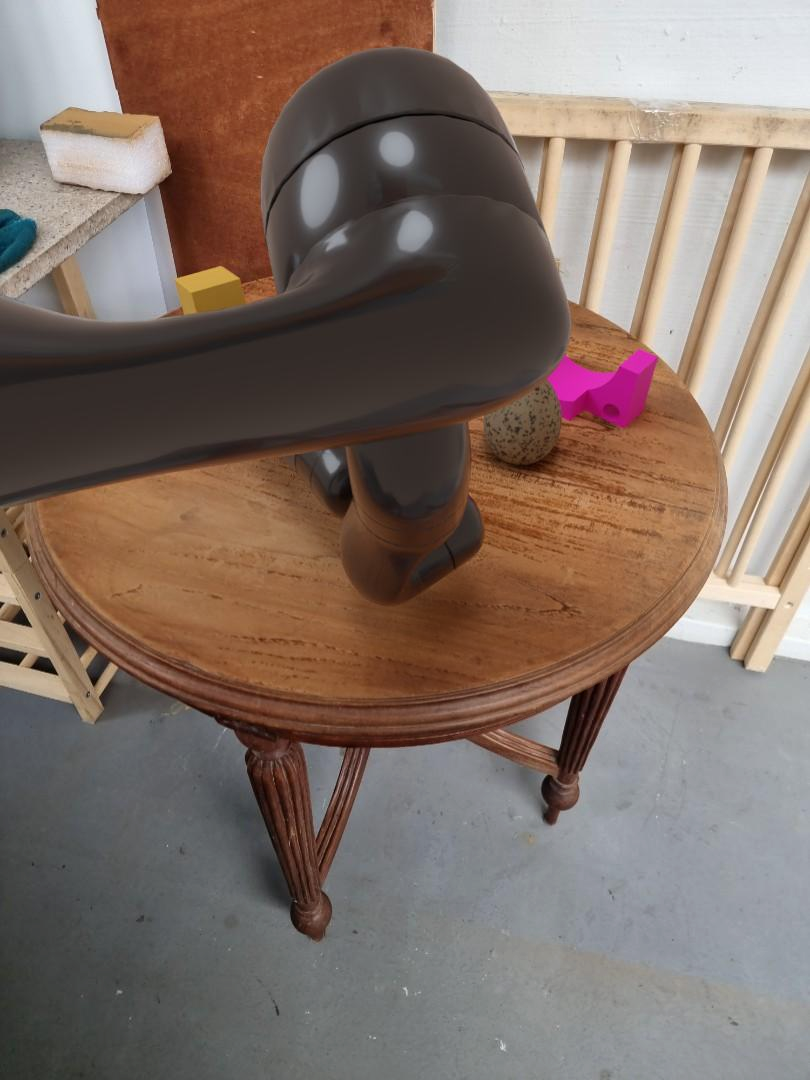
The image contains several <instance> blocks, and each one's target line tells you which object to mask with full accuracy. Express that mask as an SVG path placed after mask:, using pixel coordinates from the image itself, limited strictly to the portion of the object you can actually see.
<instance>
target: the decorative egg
mask: <svg viewBox="0 0 810 1080" xmlns="http://www.w3.org/2000/svg"><path fill="white" fill-rule="evenodd" d="M562 422H563V418H562V413H561V407H560V402H559V399H558V397H557V394H556V392H555V390H554V388H553V387H552V385H551V384H550V382H549V381H548V380H547V379H546V380H545V381H544V382H543V383H542V384H541V385H540V386H538V387H537V388H535V389H534V390H532V391H531V392H529V393H528V394H526V395H525V396H523V397H522V398H520V399H518V400H516V401H515V402H513V403H511V404H509V405H508V406H506V407H503V408H501V409H499V410H497V411H494V412H492V413H490V414H487V415H485V416H483V433H484V439H485V440H486V442H487V445H488V447H489V448H490V450H491V451H492V453H493V454H494V455H495V456H496V457H498V459H500V460H501V461H503V462H505V463H506V464H507V463H508V464H510V465H513V466H529V465H532V464H535V463H538V462H539V461H541V460H543V459H544V458H545V457H546V456H548V454H549V453H551V451H552V450H553V449H554V447H555V445H556V444H557V442H558V439H559V438H560V435H561V430H562V424H563V423H562Z"/></svg>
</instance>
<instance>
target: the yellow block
mask: <svg viewBox="0 0 810 1080" xmlns="http://www.w3.org/2000/svg"><path fill="white" fill-rule="evenodd" d="M174 283H175V287H176V291H177V295H178V298H179V302H180V305H181V309H182V312H183V315H186V314H193V313H200V312H207V311H214V310H220V309H225V308H230V307H234V306H239V305H244V304H247V302H246V298H245V293H244V290H243V286H242V285H243V284H242V281H241V278H240V277H239V276H237V275H236V274H234V273H233V272H232V271H230V270H228V269H227V268H226V267H224V266H222V265H219V266H215V267H213V268H209V269H206V270H201V271H198V272H195V273H191V274H187V275H184V276H180V277H177V278H174Z"/></svg>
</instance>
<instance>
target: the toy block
mask: <svg viewBox="0 0 810 1080" xmlns="http://www.w3.org/2000/svg"><path fill="white" fill-rule="evenodd" d="M658 360H659V356H657V355H656V354H652V353H650V352H648V351H646V350H643V349H641V348H638V349H637V350H636V351H635V352H633V354H631V355H630V356H629V357H627V358H626V359H625V360H624V361H623V362H622V363H621V364H620V365H619V366H618V367H617V370H615V371H612V372H597V371H592V370H589V369H587V368H585V367H582V366H581V365H579V364H577V363H576V362H574V360H572V359H570V357H568V355H566V354H565V356H564V358H563V359H562V361H561V363H560V364H559V365H558V367H557V368H556V369H555V370H554V371H553V373H552V374H551V375H550V376H549V377H548V378H547V380H548V381H549V382H550V384H551V385H552V387H553V388H554V390H555V392H556V394H557V397H558V399H559V402H560V407H561V413H562V419H564V420H566V421H569V422H571V421H572V420H574V418H576V417H577V416H578V415H579V414H580V413H581V412H582V411H586V412H588V413H590V414H592V415H594V416H596V417H598V418H601V419H603V420H605V421H606V422H609V423H611V424H613V425H616V426H617V427H619V428H622V429H626V428H627V427H628V425H629V424H631V423H632V422H633V421H634V420H635V419H636V418H637V417H639V415H641V414H642V413H643V412H644V409H645V405H646V403H647V398H648V395H649V392H650V387H651V385H652V380H653V377H654V374H655V371H656V367H657V363H658Z"/></svg>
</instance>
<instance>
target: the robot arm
mask: <svg viewBox="0 0 810 1080" xmlns="http://www.w3.org/2000/svg"><path fill="white" fill-rule="evenodd" d="M259 189H260V190H259V192H260V193H259V197H260V198H259V200H260V214H261V219H262V220H261V221H262V227H263V233H264V240H265V245H266V250H267V252H268V258H269V263H270V268H271V273H272V277H273V283H274V287H275V292H276V294H275V295H271V296H269V297H265V298H262V299H259V300H255V301H251V302H248V303H247V302H246V304H244V305H239V306H234V307H230V308H225V309H220V310H214V311H207V312H200V313H193V314H186V315H184V314H179V315H172V316H166V317H165V316H164V317H161V318H160V317H159V318H152V319H145V320H144V319H143V320H142V319H141V320H110V319H109V320H108V319H94V318H89V317H88V318H87V317H82V316H77V315H72V314H67V313H62V312H59V311H55V310H51V309H48V308H46V307H45V308H44V307H41V306H37V305H34V304H30V303H28V302H25V301H22V300H19V299H15V298H13V297H10V296H8V295H4V294H1V293H0V510H5V509H9V508H14V507H17V506H22V505H26V504H31V503H36V502H39V501H45V500H48V499H53V498H57V497H60V496H66V495H70V494H74V493H79V492H83V491H88V490H92V489H96V488H103V487H107V486H112V485H116V484H121V483H125V482H131V481H135V480H141V479H147V478H151V477H155V476H156V477H157V476H161V475H166V474H173V473H178V472H185V471H186V472H187V471H193V470H199V469H200V470H201V469H207V468H212V467H218V466H219V467H220V466H226V465H233V464H239V463H246V462H254V461H260V460H267V459H274V458H281V459H282V460H283V461H284V462H285V464H286V465H287V466H288V467H289V468H290V469H292V471H294V472H295V473H296V474H297V475H298V476H299V477H300V478H301V479H302V480H303V481H304V483H305V484H306V486H307V487H308V488H309V490H310V491H311V492H312V494H314V496H315V498H316V499H317V500H318V501H319V502H320V504H321V505H322V506H323V507H324V508H325V509H326V510H327V511H328V512H329V513H330V514H332V515H333V516H335V517H337V518H340V519H343V520H342V522H341V525H340V529H339V535H338V548H339V556H340V561H341V565H342V568H343V570H344V573H345V575H346V577H347V580H349V582H350V584H351V586H352V587H353V588H354V589H355V591H357V592H358V594H359V595H361V596H362V597H363V598H364V599H365V600H367V601H369V602H370V603H372V604H374V605H378V606H380V607H385V608H388V607H389V608H390V607H398V606H402V605H404V604H406V603H408V602H410V601H411V600H414V598H416V597H418V596H419V595H421V594H422V593H424V592H425V591H426V590H428V589H429V588H431V587H433V586H434V585H435V584H437V583H438V582H440V581H441V580H442V579H445V578H446V577H447V576H448V575H450V574H451V573H453V572H454V571H456V570H458V569H459V568H460V567H462V566H463V565H465V564H466V563H468V562H469V561H471V560H472V559H473V558H474V557H475V556H476V555H477V554H478V553H479V552H480V551H481V549H482V547H483V545H484V542H485V539H486V538H485V537H486V528H485V527H486V525H485V520H484V517H483V513H482V512H481V509H480V507H479V505H478V503H477V502H476V501H475V499H474V498H473V497H472V496H471V494H469V489H470V483H471V476H472V474H471V473H472V443H471V442H472V441H471V434H470V427H469V422H471V421H475V420H476V419H479V418H481V417H484V416H485V415H487V414H490V413H492V412H494V411H497V410H499V409H501V408H503V407H506V406H508V405H509V404H511V403H513V402H515V401H516V400H518V399H520V398H522V397H523V396H525V395H526V394H528V393H529V392H531V391H532V390H534V389H535V388H537V387H538V386H540V385H541V384H542V383H543V382H544V381H545V380H546V379H547V378H548V377H549V376H550V375H551V374H552V373H553V371H554V370H555V369H556V368H557V367H558V365H559V364H560V363H561V361H562V359H563V358H564V356H565V355H566V354H567V350H568V348H569V345H570V342H571V335H572V315H571V309H570V305H569V300H568V297H567V292H566V289H565V286H564V284H563V281H562V277H561V274H560V271H559V268H558V264H557V261H556V259H555V256H554V255H555V254H554V253H553V249H552V246H551V243H550V238H549V237H548V233H547V231H546V228H545V224H544V222H543V219H542V216H541V214H540V211H539V208H538V204H537V202H536V200H535V199H536V198H535V195H534V193H533V191H532V188H531V184H530V181H529V179H528V176H527V173H526V172H525V166H524V164H523V162H522V159H521V155H520V152H519V150H518V147H517V144H516V142H515V139H514V137H513V135H512V133H511V131H510V129H509V127H508V126H507V124H506V121H505V119H504V118H503V116H502V115H501V112H500V110H499V109H498V107H497V105H496V104H495V102H494V100H493V99H492V97H491V96H490V94H489V93H488V92H487V91H486V90H485V88H484V87H482V85H481V83H479V82H478V80H477V79H476V78H475V77H474V76H473V74H471V73H469V72H468V71H466V69H464V68H462V67H461V66H460V65H458V64H456V63H455V62H454V61H453V60H451V59H450V58H448V57H446V56H442V55H440V54H437V53H435V52H432V51H430V50H427V49H424V48H423V49H422V48H415V47H410V46H409V47H408V46H401V45H398V46H387V47H386V46H385V47H384V46H383V47H373V48H368V49H364V50H360V51H357V52H354V53H351V54H348V55H346V56H344V57H342V58H339V59H338V60H336V61H334V62H332V63H330V64H327V65H326V66H324V67H322V68H321V69H319V70H318V71H317V72H316V73H315V74H313V75H312V76H310V78H308V79H307V80H306V81H304V82H303V83H302V84H301V85H300V86H299V87H298V89H296V91H295V92H294V93H293V94H292V96H291V97H290V98H289V99H288V101H287V102H286V103H285V104H284V105H283V107H282V108H281V111H280V113H279V115H278V116H277V118H276V120H275V121H274V124H273V125H272V128H271V130H270V133H269V137H268V140H267V144H266V147H265V150H264V154H263V157H262V165H261V177H260V188H259Z"/></svg>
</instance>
